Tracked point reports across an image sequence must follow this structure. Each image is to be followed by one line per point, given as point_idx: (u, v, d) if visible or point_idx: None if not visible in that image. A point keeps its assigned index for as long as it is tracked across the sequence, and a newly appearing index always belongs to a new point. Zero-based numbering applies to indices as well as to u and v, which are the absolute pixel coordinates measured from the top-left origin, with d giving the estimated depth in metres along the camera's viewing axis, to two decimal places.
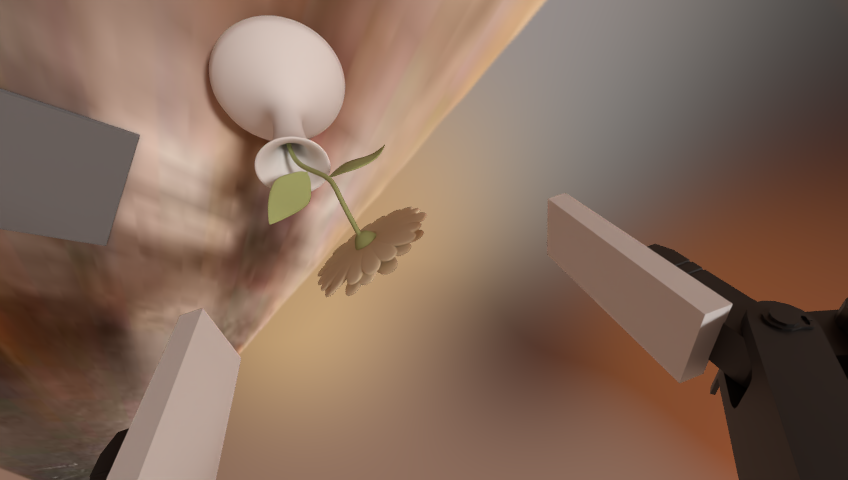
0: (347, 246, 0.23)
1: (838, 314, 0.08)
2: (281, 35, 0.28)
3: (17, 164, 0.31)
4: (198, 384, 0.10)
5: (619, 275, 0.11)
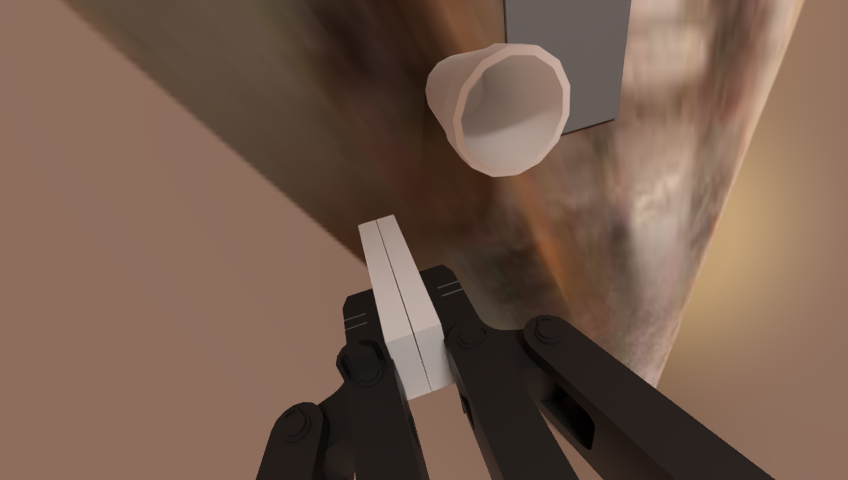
0: None
1: (525, 346, 0.09)
2: None
3: (566, 50, 0.37)
4: None
5: None
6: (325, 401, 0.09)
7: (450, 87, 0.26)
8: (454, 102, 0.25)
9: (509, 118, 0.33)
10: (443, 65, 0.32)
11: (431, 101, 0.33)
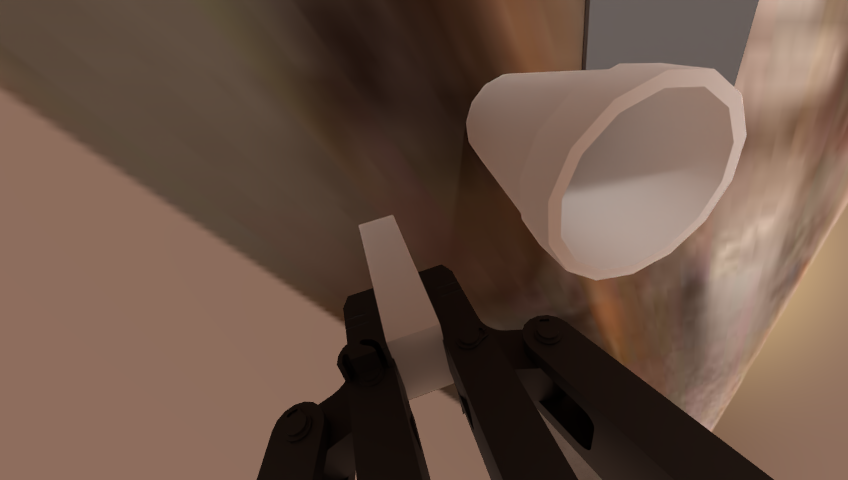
0: None
1: (524, 346, 0.09)
2: None
3: None
4: None
5: None
6: (326, 401, 0.09)
7: (538, 140, 0.15)
8: (550, 171, 0.14)
9: (599, 169, 0.22)
10: (501, 91, 0.21)
11: (480, 143, 0.22)
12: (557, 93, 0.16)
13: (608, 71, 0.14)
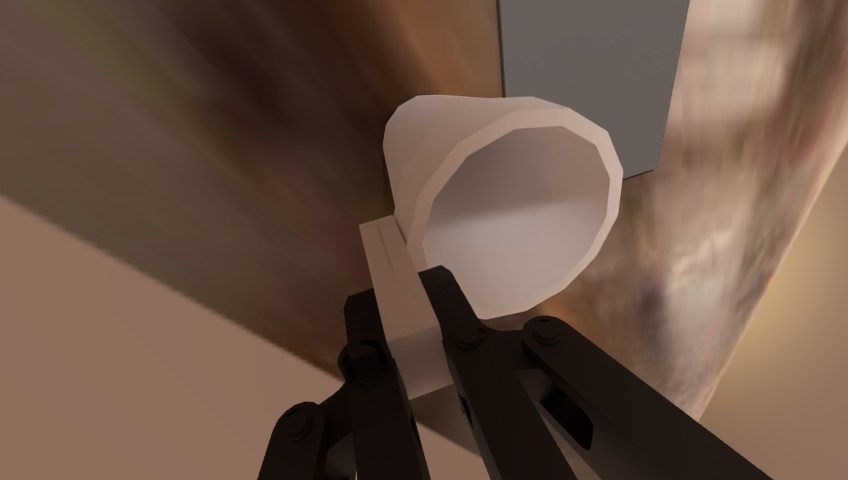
0: None
1: (523, 346, 0.09)
2: None
3: (592, 81, 0.25)
4: None
5: None
6: (326, 401, 0.09)
7: (403, 179, 0.14)
8: (408, 215, 0.13)
9: (510, 195, 0.21)
10: (403, 116, 0.20)
11: None
12: (430, 127, 0.15)
13: (470, 107, 0.13)
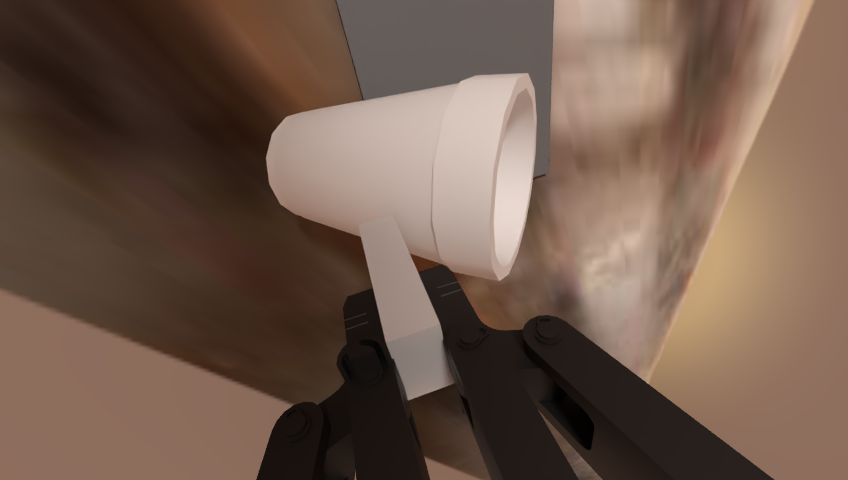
0: None
1: (524, 346, 0.09)
2: None
3: None
4: None
5: None
6: (326, 401, 0.09)
7: (439, 173, 0.13)
8: (476, 198, 0.13)
9: None
10: (315, 135, 0.17)
11: (315, 200, 0.18)
12: (417, 121, 0.14)
13: (459, 90, 0.14)
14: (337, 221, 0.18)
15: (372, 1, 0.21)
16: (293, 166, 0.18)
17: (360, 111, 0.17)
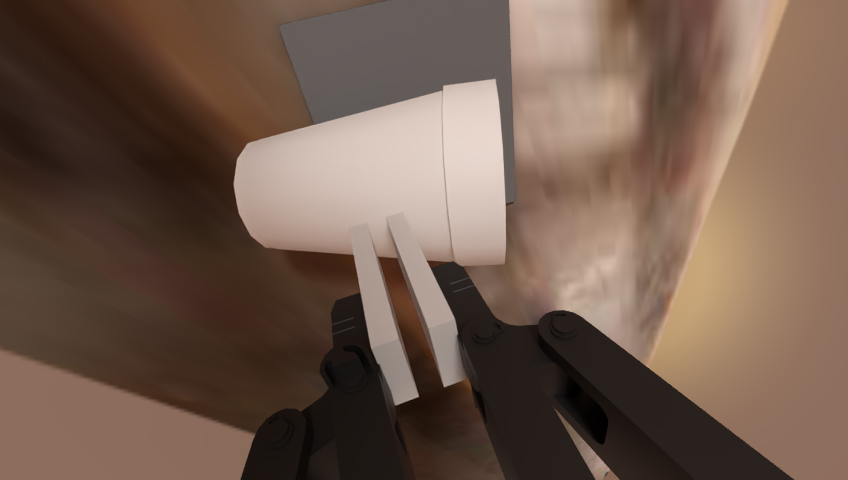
0: None
1: (539, 340, 0.09)
2: None
3: None
4: (381, 273, 0.13)
5: (411, 290, 0.12)
6: (310, 407, 0.09)
7: (451, 160, 0.14)
8: (490, 178, 0.14)
9: None
10: (295, 151, 0.17)
11: (303, 219, 0.17)
12: (414, 121, 0.15)
13: (446, 91, 0.16)
14: (328, 238, 0.17)
15: (320, 36, 0.20)
16: (272, 187, 0.17)
17: (343, 123, 0.17)
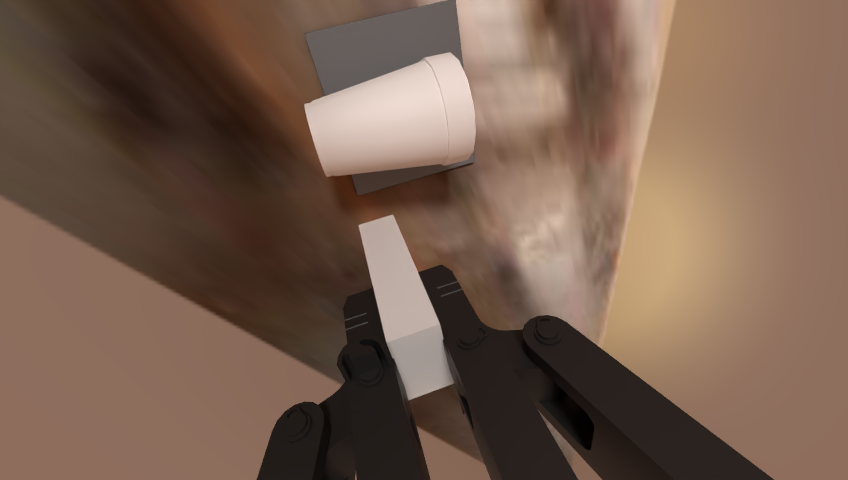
0: None
1: (524, 346, 0.09)
2: None
3: None
4: None
5: None
6: (326, 401, 0.09)
7: (444, 88, 0.28)
8: (464, 95, 0.28)
9: None
10: (347, 100, 0.28)
11: (359, 139, 0.28)
12: (417, 74, 0.28)
13: (428, 59, 0.29)
14: (374, 150, 0.29)
15: (330, 40, 0.31)
16: (337, 122, 0.28)
17: (371, 83, 0.29)
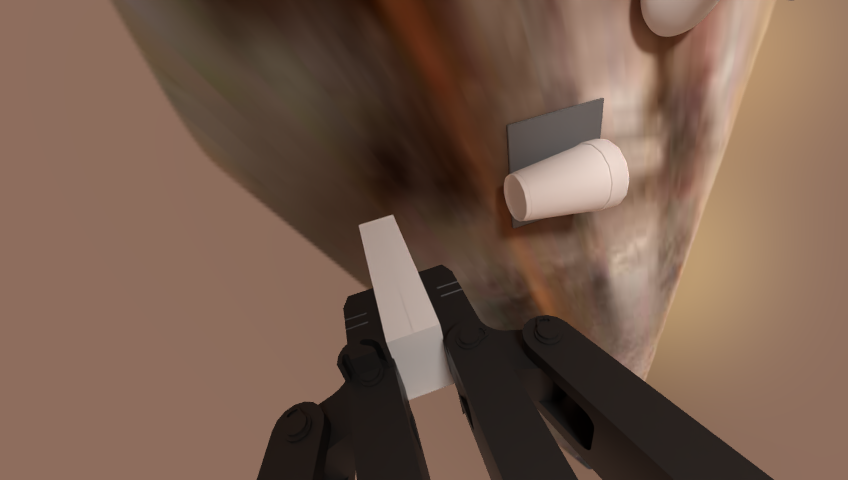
0: None
1: (523, 346, 0.09)
2: None
3: None
4: None
5: None
6: (326, 401, 0.09)
7: (612, 168, 0.43)
8: (624, 171, 0.43)
9: None
10: (547, 174, 0.43)
11: (554, 200, 0.43)
12: (591, 157, 0.43)
13: (595, 145, 0.44)
14: (561, 206, 0.44)
15: (522, 129, 0.46)
16: (542, 189, 0.43)
17: (558, 161, 0.44)
